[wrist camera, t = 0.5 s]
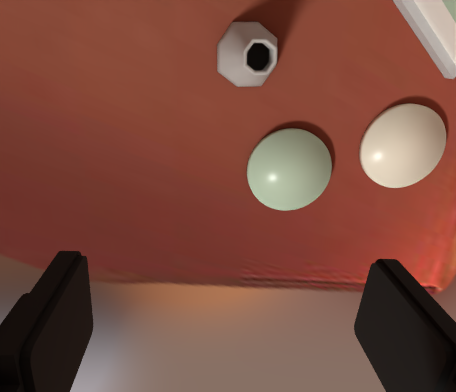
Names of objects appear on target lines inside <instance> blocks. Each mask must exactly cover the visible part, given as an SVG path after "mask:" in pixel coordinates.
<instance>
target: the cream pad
mask: <svg viewBox="0 0 456 392" xmlns="http://www.w3.org/2000/svg"><path fill="white" fill-rule="evenodd" d="M445 145H446V130H445V126H444V123H443V121H442V119H441V118H440V116H439V115H438V114H437V113H436V112H435V111H433V110H432V109H430V108H428V107H425V106H422V105H418V104H411V103H407V104H400V105H396V106H393V107H391V108H389V109H387V110H385V111H383V112H382V113H380V114H379V115H378V116H377V117H376V118H375V119H374V120H373V121H372V122H371V123H370V124H369V126H368V127H367V129H366V130H365V132H364V134H363V136H362V139H361V142H360V147H359V159H360V163H361V166H362V168H363V170H364V172H365V173H366V174H367V175H368V176H369V177H370V178H371V179H372V180H373V181H375V182H376V183H378V184H380V185H382V186H385V187H390V188H400V187H405V186H409V185H412V184H414V183H416V182H418V181H420V180H421V179H423V178H424V177H426V176H427V175H428V174H429V173H430V172H431V171H432V170H433V169H434V168H435V166H436V165H437V164H438V162H439V160H440V159H441V157H442V154H443V152H444V149H445Z"/></svg>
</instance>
